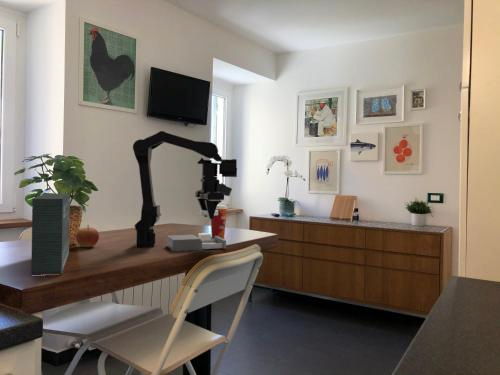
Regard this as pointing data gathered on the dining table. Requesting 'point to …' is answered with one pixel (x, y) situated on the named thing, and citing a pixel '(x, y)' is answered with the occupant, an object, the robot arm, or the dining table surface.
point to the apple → (87, 237)
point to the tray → (214, 243)
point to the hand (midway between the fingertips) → (208, 217)
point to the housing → (184, 242)
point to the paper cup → (219, 222)
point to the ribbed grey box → (50, 233)
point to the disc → (205, 212)
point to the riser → (205, 236)
